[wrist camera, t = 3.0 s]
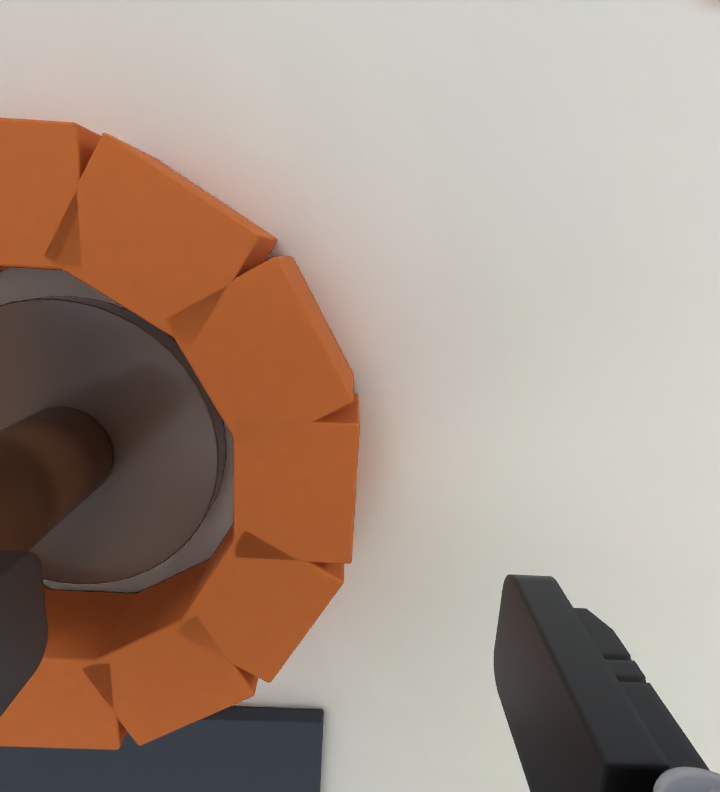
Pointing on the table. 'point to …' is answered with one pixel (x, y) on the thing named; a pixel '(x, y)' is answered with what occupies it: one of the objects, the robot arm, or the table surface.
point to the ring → (240, 410)
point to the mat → (184, 758)
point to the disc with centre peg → (100, 440)
